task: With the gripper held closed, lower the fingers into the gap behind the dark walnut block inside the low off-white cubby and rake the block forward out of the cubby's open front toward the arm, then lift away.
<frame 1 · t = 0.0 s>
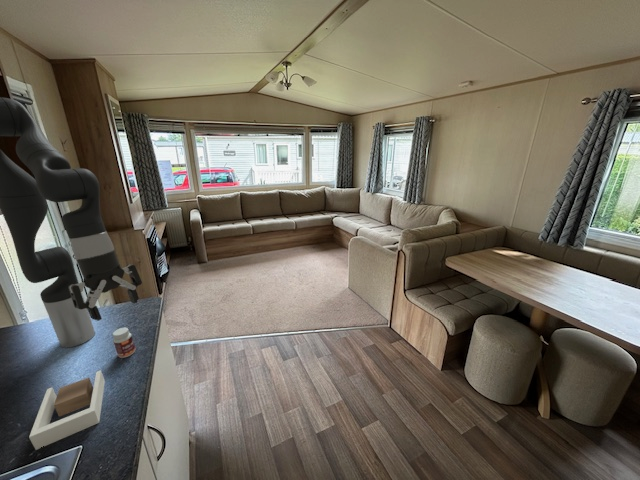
hand: (117, 310, 69), 22 cm above the worktop, tool pointing down, fingers open, 8 cm apart
pill bottle: (127, 353, 86), on the worktop
walnut block: (77, 402, 69), on the worktop
cubby: (75, 410, 67), on the worktop
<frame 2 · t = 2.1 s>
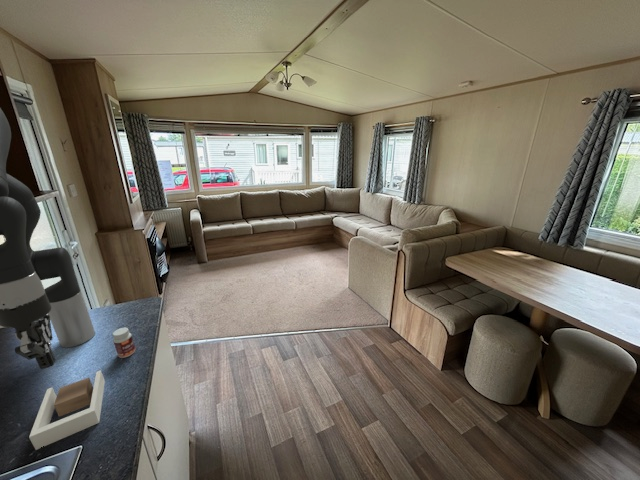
hand: (48, 364, 59), 17 cm above the worktop, tool pointing down, fingers closed
nothing on the worktop moved.
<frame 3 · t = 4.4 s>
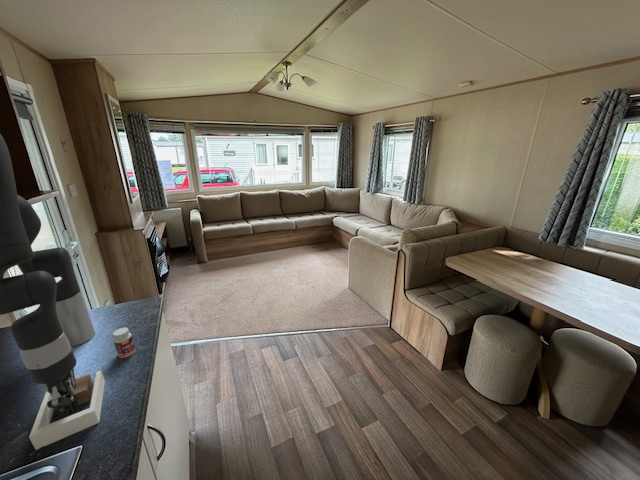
hand: (73, 411, 66), 1 cm above the worktop, tool pointing down, fingers closed
walnut block: (78, 398, 70), on the worktop, touching gripper
everything else where it was.
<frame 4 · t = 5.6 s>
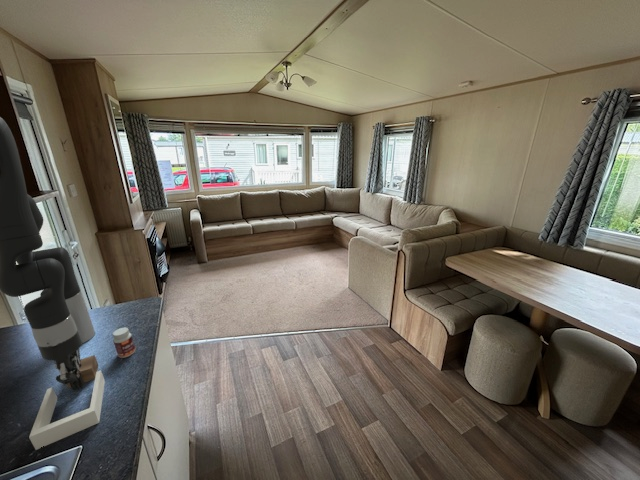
hand: (78, 387, 72), 1 cm above the worktop, tool pointing down, fingers closed
walnut block: (84, 376, 77), on the worktop, touching gripper
everything else where it was.
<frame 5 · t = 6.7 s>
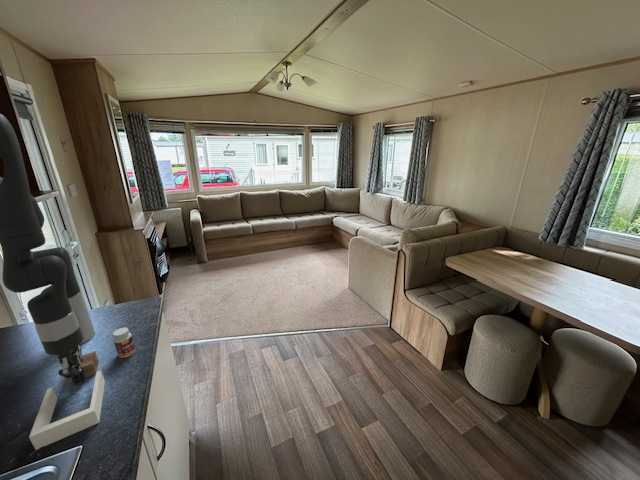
hand: (80, 381, 74), 1 cm above the worktop, tool pointing down, fingers closed
walnut block: (85, 372, 79), on the worktop
everything else where it was.
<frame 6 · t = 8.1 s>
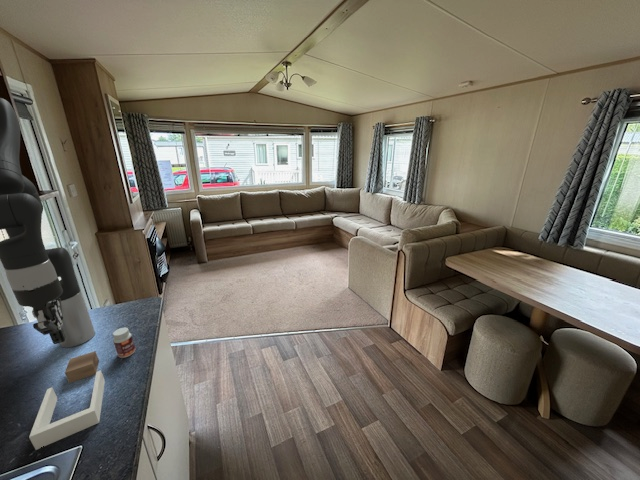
hand: (60, 341, 67), 16 cm above the worktop, tool pointing down, fingers closed
nothing on the worktop moved.
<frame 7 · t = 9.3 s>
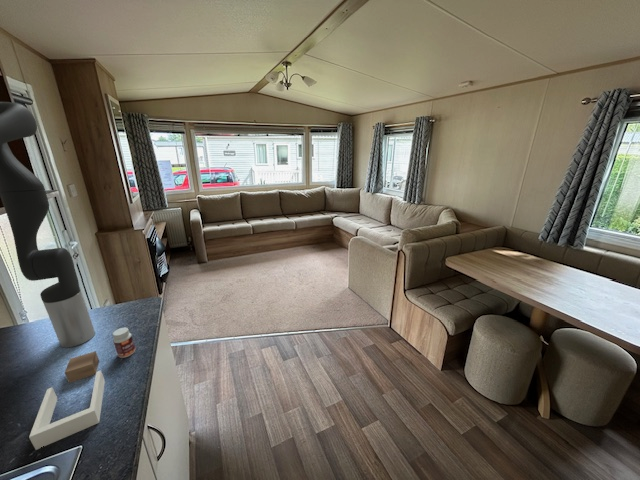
nothing on the worktop moved.
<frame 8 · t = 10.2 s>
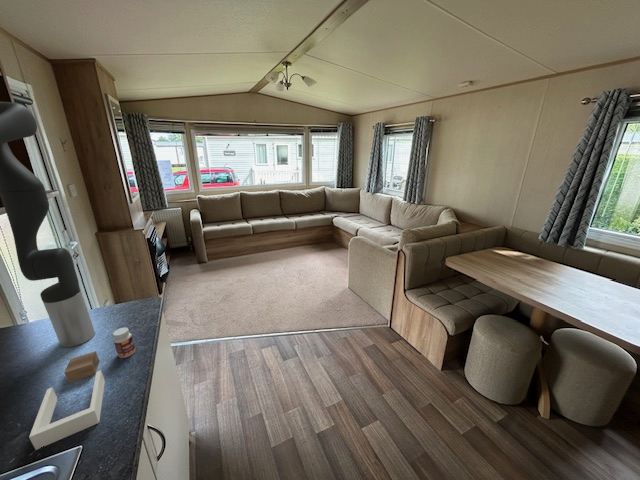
nothing on the worktop moved.
at the end: walnut block inside the target area (1.6 cm from its centre), on the worktop; walnut block tilted 0°; the gripper is holding nothing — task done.
